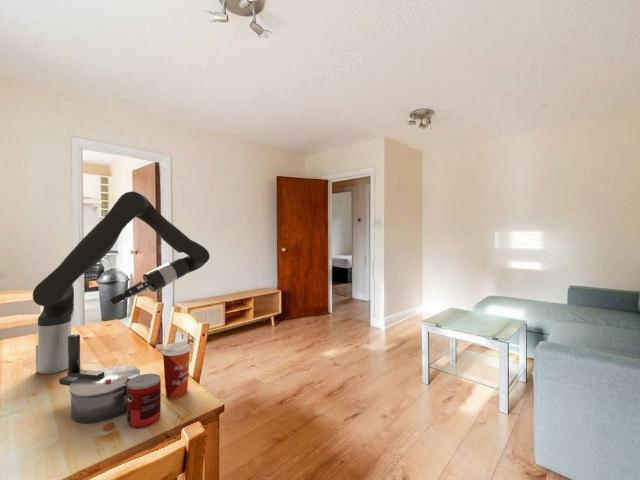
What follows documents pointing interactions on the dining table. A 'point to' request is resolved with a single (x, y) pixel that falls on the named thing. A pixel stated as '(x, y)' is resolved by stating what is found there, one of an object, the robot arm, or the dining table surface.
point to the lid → (95, 374)
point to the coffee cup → (176, 369)
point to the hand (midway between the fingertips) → (111, 302)
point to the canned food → (143, 400)
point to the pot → (96, 405)
